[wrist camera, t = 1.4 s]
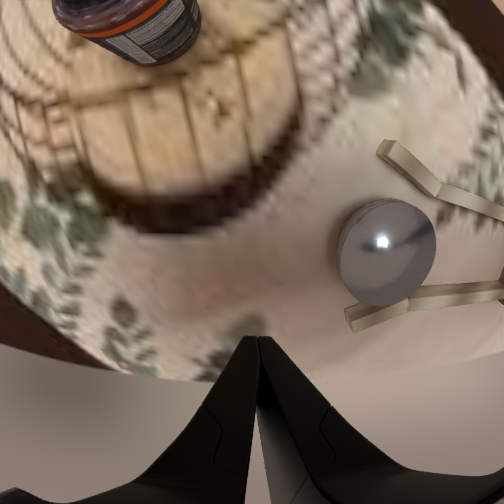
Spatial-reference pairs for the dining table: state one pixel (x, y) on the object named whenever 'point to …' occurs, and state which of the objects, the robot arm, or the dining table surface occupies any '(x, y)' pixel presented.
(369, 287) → the stud
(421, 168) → the channel
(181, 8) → the supplement bottle
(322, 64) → the dining table surface
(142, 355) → the dining table surface
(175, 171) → the dining table surface
